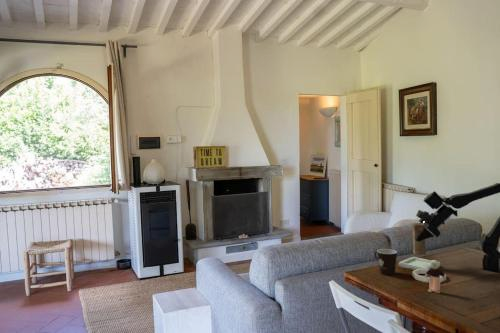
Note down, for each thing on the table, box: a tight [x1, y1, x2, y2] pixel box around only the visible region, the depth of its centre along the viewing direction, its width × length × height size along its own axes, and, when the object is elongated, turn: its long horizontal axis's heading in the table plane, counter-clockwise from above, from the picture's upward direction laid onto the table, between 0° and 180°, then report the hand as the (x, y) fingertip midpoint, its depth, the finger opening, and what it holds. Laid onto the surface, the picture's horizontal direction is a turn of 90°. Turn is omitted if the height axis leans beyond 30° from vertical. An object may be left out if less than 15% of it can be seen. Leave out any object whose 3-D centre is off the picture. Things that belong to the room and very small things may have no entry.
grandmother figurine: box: [424, 259, 447, 294], centre depth 158 cm, size 8×4×13 cm, turn 68°
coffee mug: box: [374, 248, 398, 276], centre depth 184 cm, size 12×9×10 cm
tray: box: [398, 256, 441, 271], centre depth 190 cm, size 13×13×2 cm
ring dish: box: [411, 269, 447, 283], centre depth 174 cm, size 12×12×2 cm
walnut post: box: [412, 222, 427, 256], centre depth 190 cm, size 5×5×14 cm
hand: (415, 239), depth 190 cm, fingers closed on walnut post, 5 cm apart
